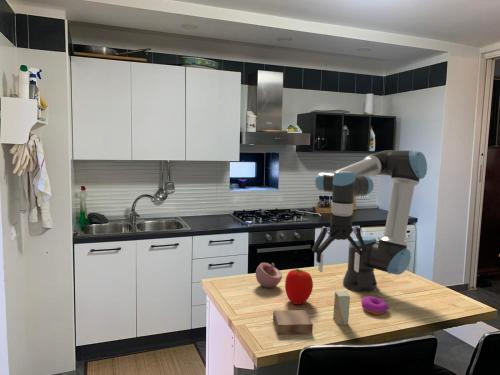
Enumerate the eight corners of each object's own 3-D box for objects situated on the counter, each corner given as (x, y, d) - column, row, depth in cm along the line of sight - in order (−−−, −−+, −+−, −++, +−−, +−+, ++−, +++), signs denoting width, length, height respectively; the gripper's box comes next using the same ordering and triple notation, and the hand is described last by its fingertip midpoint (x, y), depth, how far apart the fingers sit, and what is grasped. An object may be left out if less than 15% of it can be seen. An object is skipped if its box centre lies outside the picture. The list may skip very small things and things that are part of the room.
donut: (377, 318, 146) (378, 307, 145) (355, 309, 153) (356, 298, 153) (392, 311, 152) (393, 300, 152) (370, 302, 160) (370, 292, 159)
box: (332, 318, 144) (334, 290, 143) (344, 318, 144) (345, 290, 143) (337, 325, 139) (338, 296, 138) (348, 325, 139) (350, 296, 138)
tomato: (284, 295, 165) (286, 263, 163) (311, 297, 164) (312, 265, 162) (284, 307, 153) (285, 273, 151) (312, 309, 151) (314, 275, 150)
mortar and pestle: (277, 293, 167) (278, 268, 165) (251, 289, 170) (252, 264, 169) (284, 284, 178) (285, 260, 176) (259, 280, 182) (260, 257, 180)
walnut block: (304, 320, 143) (305, 310, 142) (312, 335, 132) (312, 324, 132) (273, 320, 142) (273, 310, 141) (277, 335, 131) (278, 324, 130)
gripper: (370, 212, 143) (366, 267, 145) (305, 211, 140) (302, 267, 143) (379, 216, 135) (375, 274, 138) (310, 215, 133) (307, 274, 135)
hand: (338, 271), depth 140 cm, fingers open, 13 cm apart
